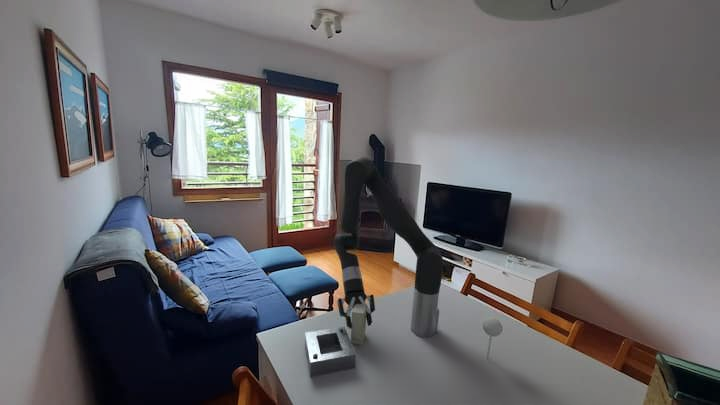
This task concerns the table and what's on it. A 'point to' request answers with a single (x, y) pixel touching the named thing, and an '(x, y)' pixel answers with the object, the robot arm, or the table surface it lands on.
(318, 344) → the housing
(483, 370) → the table surface
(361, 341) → the skincare box
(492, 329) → the lollipop
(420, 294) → the robot arm
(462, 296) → the table surface
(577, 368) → the table surface
